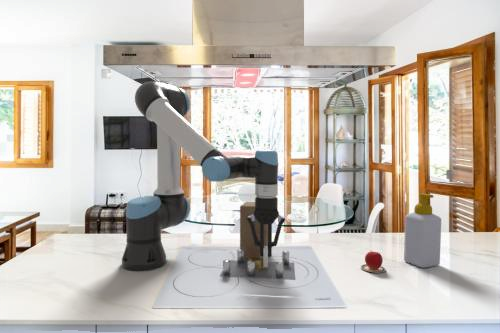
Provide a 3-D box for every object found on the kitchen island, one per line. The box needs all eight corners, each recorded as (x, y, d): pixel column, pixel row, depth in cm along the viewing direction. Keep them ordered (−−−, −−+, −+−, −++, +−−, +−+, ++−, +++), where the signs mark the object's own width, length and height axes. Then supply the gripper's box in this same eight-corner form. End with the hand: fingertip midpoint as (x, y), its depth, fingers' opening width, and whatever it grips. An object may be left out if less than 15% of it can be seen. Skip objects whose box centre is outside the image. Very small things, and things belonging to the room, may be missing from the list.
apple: (355, 267, 124) (356, 248, 123) (374, 264, 127) (375, 246, 126) (371, 275, 116) (371, 255, 116) (390, 272, 119) (391, 253, 119)
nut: (248, 270, 118) (248, 260, 118) (249, 266, 123) (249, 256, 122) (263, 271, 118) (263, 261, 117) (264, 267, 122) (264, 256, 122)
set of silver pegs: (222, 275, 114) (222, 261, 114) (229, 260, 128) (229, 248, 128) (289, 278, 112) (289, 264, 112) (289, 263, 126) (289, 250, 126)
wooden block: (266, 261, 130) (266, 206, 128) (239, 259, 132) (239, 205, 130) (270, 252, 139) (270, 202, 138) (245, 251, 141) (245, 201, 140)
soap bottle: (422, 269, 121) (424, 196, 120) (402, 261, 130) (404, 192, 128) (441, 265, 125) (444, 195, 123) (420, 258, 133) (422, 191, 132)
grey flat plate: (219, 277, 113) (219, 276, 113) (227, 261, 129) (227, 260, 129) (295, 280, 111) (295, 279, 111) (294, 263, 127) (294, 262, 127)
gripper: (245, 197, 115) (245, 268, 117) (285, 198, 114) (285, 270, 115) (248, 194, 123) (247, 261, 124) (285, 195, 121) (285, 262, 123)
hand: (265, 265), depth 120 cm, fingers closed
